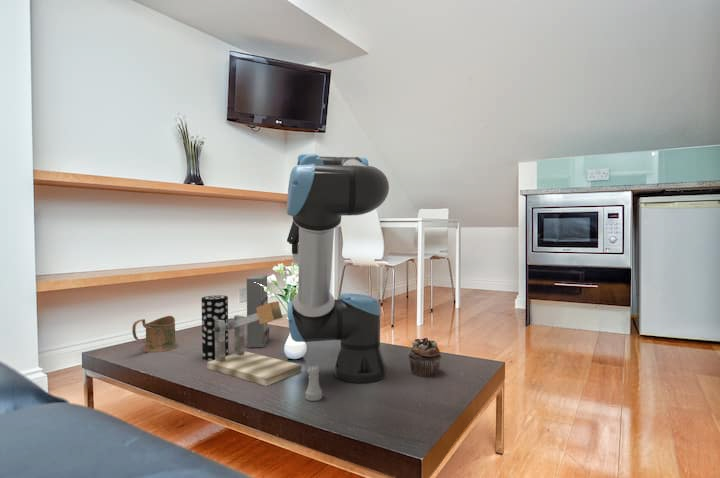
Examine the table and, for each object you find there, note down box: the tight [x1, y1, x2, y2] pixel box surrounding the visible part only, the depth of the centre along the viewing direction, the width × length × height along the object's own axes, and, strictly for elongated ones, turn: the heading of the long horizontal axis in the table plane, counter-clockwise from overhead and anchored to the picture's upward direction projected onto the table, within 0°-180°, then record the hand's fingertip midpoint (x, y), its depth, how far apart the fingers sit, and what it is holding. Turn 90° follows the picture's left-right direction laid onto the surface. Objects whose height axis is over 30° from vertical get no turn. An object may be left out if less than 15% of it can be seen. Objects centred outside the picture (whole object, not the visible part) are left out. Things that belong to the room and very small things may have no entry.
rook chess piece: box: [304, 364, 323, 402], centre depth 107 cm, size 4×4×8 cm
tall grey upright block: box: [246, 273, 270, 349], centre depth 159 cm, size 14×6×25 cm, turn 4°
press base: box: [206, 315, 302, 387], centre depth 128 cm, size 26×14×14 cm, turn 56°
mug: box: [131, 315, 179, 353], centre depth 150 cm, size 12×18×12 cm, turn 162°
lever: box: [225, 300, 283, 332], centre depth 129 cm, size 24×4×5 cm, turn 56°
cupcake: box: [408, 337, 442, 378], centre depth 126 cm, size 10×10×10 cm
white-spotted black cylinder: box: [201, 294, 230, 361], centre depth 142 cm, size 8×8×20 cm
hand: (309, 262), depth 146 cm, fingers open, 13 cm apart
